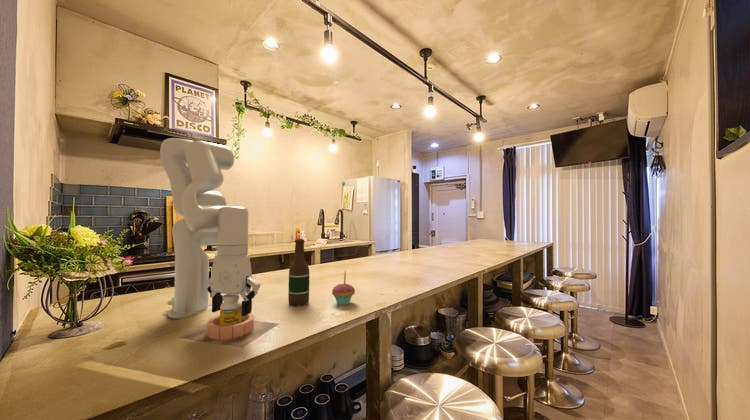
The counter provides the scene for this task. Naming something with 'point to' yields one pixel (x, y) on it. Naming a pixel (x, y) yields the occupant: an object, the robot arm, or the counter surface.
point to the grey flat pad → (239, 341)
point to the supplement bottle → (230, 310)
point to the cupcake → (343, 292)
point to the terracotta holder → (229, 328)
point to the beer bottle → (298, 277)
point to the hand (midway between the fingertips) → (231, 312)
